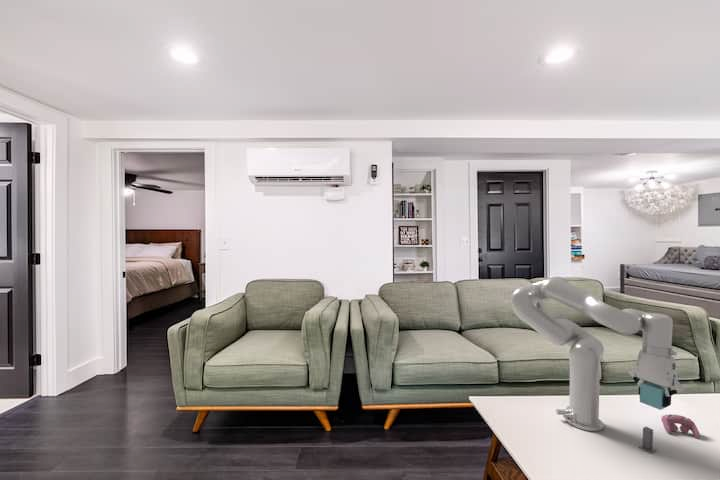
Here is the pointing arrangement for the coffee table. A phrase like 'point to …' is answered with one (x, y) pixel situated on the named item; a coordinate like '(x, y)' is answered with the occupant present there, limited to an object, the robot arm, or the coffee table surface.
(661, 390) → the teal block
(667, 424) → the video game controller
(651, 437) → the post
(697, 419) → the coffee table surface
